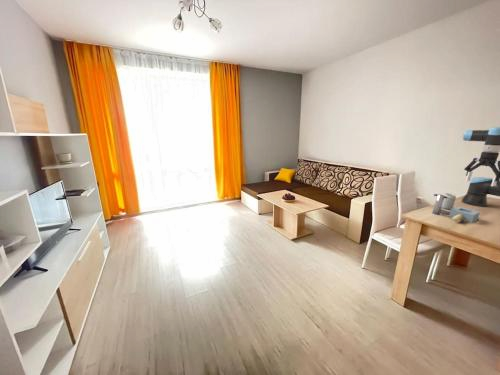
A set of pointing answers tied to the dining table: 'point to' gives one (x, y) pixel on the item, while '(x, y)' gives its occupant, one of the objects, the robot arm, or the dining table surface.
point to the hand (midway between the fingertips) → (479, 183)
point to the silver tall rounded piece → (438, 203)
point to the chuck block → (464, 214)
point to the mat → (444, 212)
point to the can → (448, 201)
